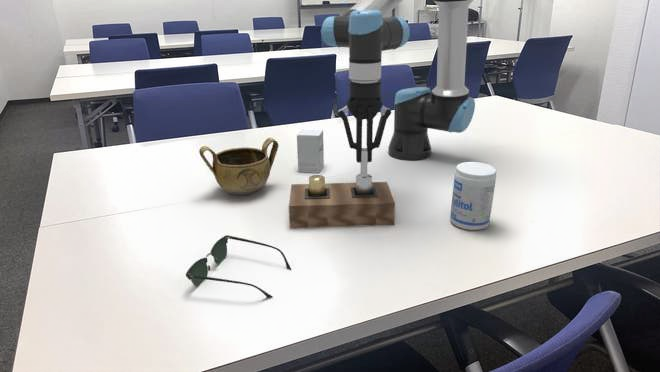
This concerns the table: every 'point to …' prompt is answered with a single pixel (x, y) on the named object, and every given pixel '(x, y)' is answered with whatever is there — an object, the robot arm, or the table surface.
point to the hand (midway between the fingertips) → (363, 173)
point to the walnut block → (341, 206)
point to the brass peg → (317, 185)
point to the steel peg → (363, 185)
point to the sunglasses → (219, 253)
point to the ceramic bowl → (242, 167)
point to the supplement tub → (472, 195)
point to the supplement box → (310, 150)
